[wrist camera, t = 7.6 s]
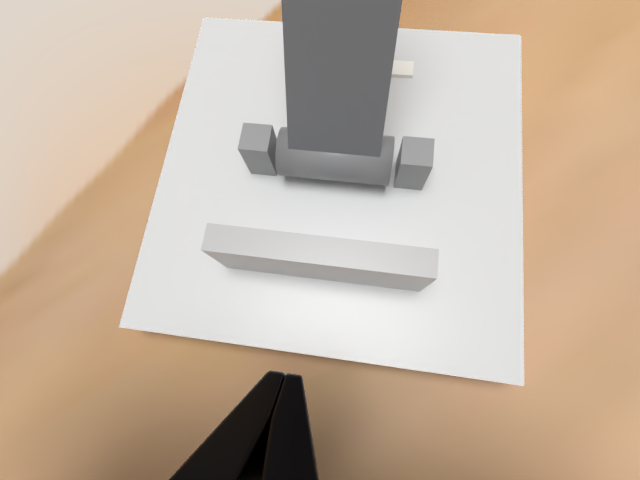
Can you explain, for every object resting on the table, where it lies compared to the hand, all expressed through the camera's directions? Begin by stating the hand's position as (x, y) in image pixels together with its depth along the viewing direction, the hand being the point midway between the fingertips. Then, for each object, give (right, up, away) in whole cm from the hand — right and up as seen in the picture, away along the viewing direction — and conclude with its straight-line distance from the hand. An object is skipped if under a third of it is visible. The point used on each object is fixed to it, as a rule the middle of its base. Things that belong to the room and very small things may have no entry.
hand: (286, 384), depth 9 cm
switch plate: (+2, +6, +9) cm, 11 cm away
